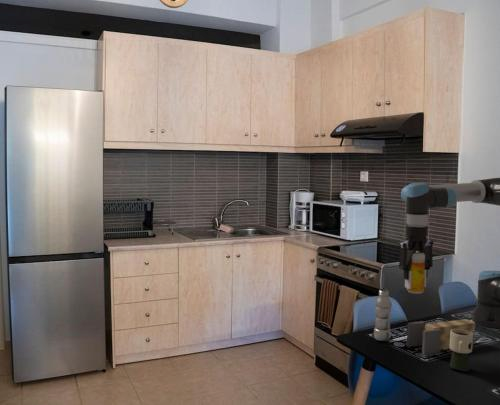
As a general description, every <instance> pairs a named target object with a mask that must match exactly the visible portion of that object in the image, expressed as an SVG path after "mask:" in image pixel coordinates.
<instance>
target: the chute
mask: <svg viewBox="0 0 500 405" xmlns="http://www.w3.org/2000/svg"><path fill="white" fill-rule="evenodd" d="M425 324H426V322H425V321H423V320H421V321H412V322H407V328H406V330H407V331H406V342H405V343H404V346H406V347H407V348H411V347H412V346H413V347H419V346H418V345H420V346H421V347H422V348H421V355H422V354H423V355H424V357H425V356H429V357H433V355H436V356H441V355H440V354H443V353H442V352H441V350H440V335H441V330H440V329H433V330H425ZM423 355H422V356H423Z"/></svg>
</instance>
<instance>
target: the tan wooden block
mask: <svg viewBox="0 0 500 405" xmlns="http://www.w3.org/2000/svg"><path fill="white" fill-rule="evenodd" d="M433 329H440V330H441V335H440V351H442V350H441V349H444V350H451V349H450V331H451V330H452V329H464V330H467V331H470V332H472V333H473V346H474V345H475V329H476V323H475V322H473V321H472V320H470V319H466V318H465V319H464V318H463V319H456V320H455V319H454V320H447V321H442V322H441V321H440V322H433V323H425V326H424V331H425V330H433Z"/></svg>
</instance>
